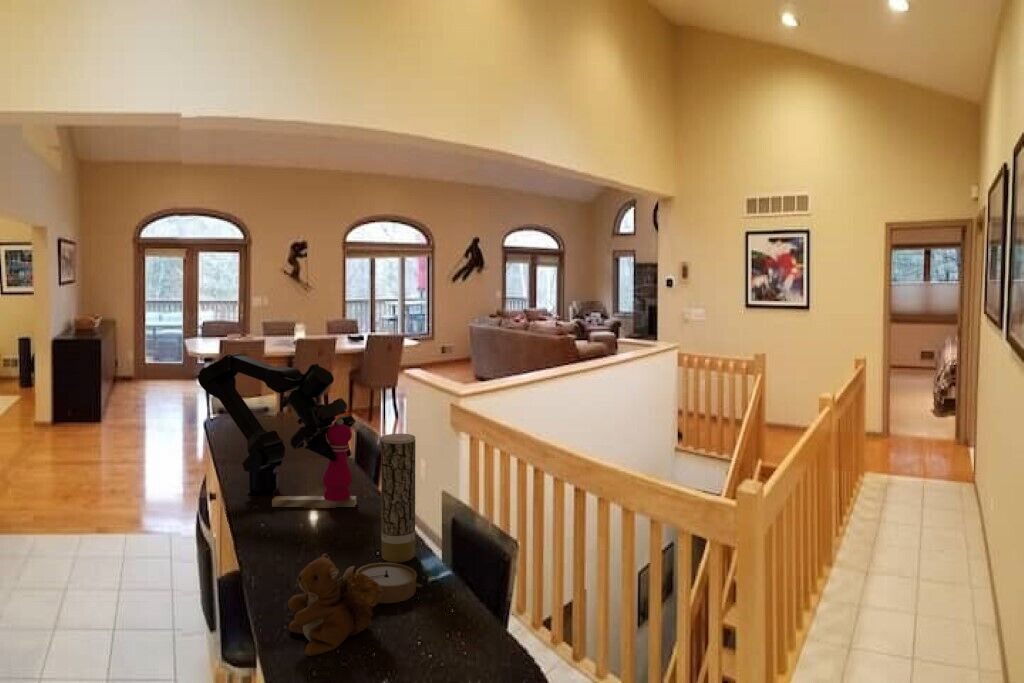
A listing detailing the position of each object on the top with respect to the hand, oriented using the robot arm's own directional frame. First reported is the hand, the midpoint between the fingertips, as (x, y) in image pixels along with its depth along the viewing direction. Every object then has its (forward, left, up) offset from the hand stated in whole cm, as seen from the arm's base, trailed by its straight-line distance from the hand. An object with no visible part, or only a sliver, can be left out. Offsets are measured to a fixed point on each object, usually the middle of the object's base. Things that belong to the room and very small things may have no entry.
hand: (343, 458), depth 176 cm
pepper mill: (-2, 0, -10) cm, 10 cm away
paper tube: (+17, -32, -12) cm, 39 cm away
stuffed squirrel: (+10, -64, -13) cm, 66 cm away
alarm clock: (+15, -49, -13) cm, 52 cm away
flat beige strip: (-7, +1, -12) cm, 14 cm away
